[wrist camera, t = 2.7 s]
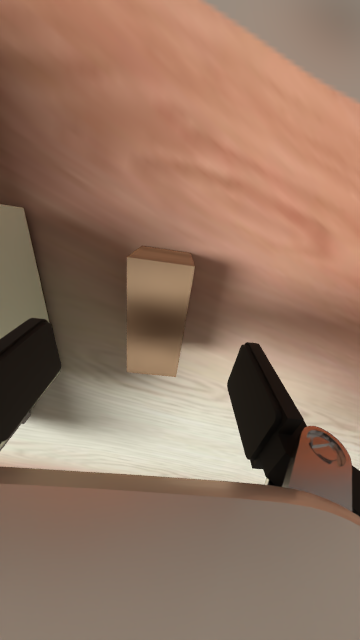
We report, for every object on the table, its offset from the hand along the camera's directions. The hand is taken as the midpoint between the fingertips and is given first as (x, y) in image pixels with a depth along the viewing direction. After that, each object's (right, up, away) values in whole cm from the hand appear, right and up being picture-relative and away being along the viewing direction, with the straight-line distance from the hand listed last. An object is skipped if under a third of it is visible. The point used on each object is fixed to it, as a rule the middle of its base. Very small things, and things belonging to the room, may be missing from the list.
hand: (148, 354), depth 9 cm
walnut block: (0, +4, +8) cm, 9 cm away
